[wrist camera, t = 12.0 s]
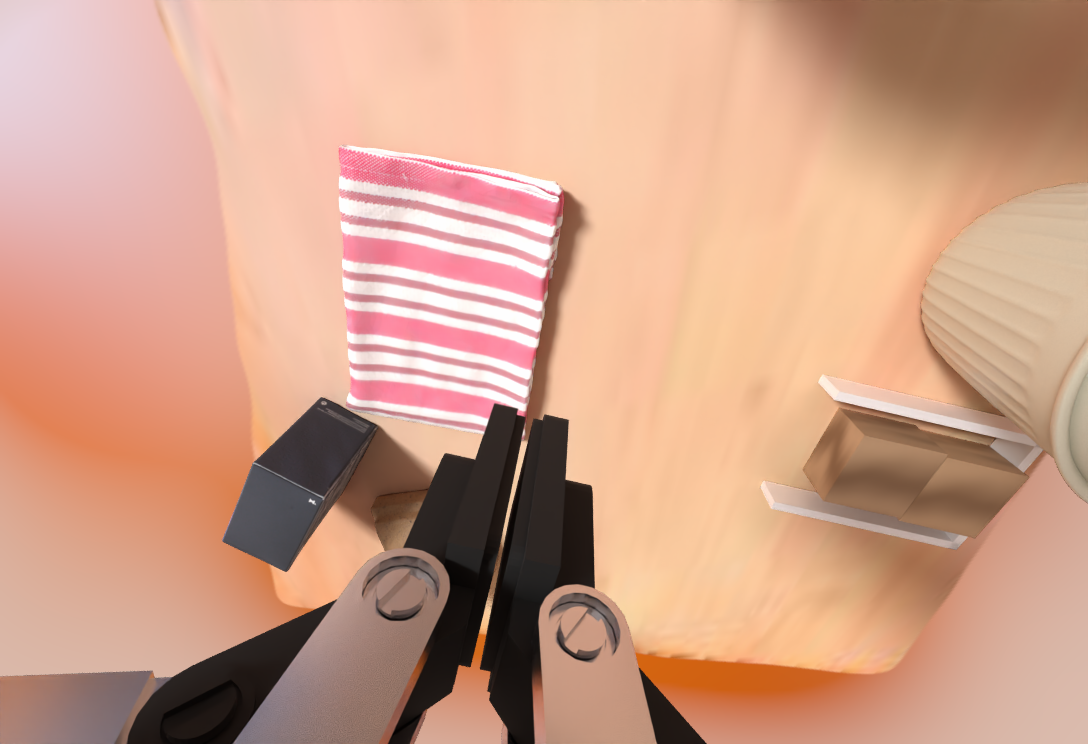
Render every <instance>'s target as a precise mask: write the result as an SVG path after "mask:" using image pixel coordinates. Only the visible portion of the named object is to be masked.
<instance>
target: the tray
mask: <svg viewBox="0 0 1088 744" xmlns="http://www.w3.org/2000/svg"><path fill="white" fill-rule="evenodd" d="M818 383H819V384H820V385H821V386H822V387H823V388H824V389H825V390H826V392H827V393H828V394H829V395H830V396H831V397H832V398H833V399H834V400H837V401H841V402H845V403H850V404H854V405H858V406H863V407H867V408H871V409H876V410H880V411H884V412H888V413H893V414H897V415H901V416H906V417H910V418H914V419H919V420H923V421H927V422H932V423H936V424H940V425H944V426H949V427H953V428H957V429H962V430H966V431H970V432H975V433H979V434H983V435H988V436H992V437H996V439H995V440H994V442H993V443H992V444H991V445H990V447H991V448H993V449H994V450H995V451H996V452H998V453H999V454H1000V455H1002V456H1003V457H1004V458H1006V459H1007V460H1008V461H1009V462H1011V463H1012V464H1013V465H1015V466H1016V467H1017V468H1018V469H1020V470H1021V471H1022V472H1025V471H1026V469H1027V468H1028V467H1029V466H1030V465H1031V464H1032V462H1033V461H1034V460H1035V459H1036V458H1037V457H1038V456H1039V454H1040V453H1041V452H1042V451H1043V449H1042V448H1041V447H1040V446H1039V445H1037V444H1036V443H1035V442H1034V441H1033V440H1032V439H1031V438H1030V437H1028V436H1027V435H1026V434H1025V433H1024V432H1023V431H1022V430H1021V429H1019V428H1018V427H1017V426H1016V425H1015V424H1014V423H1013V422H1012V421H1010V420H1009V419H1008V418H1007V417H1003V416H999V415H995V414H990V413H986V412H982V411H977V410H973V409H969V408H965V407H960V406H956V405H952V404H948V403H943V402H939V401H935V400H930V399H926V398H922V397H918V396H913V395H909V394H905V393H900V392H896V391H892V390H888V389H883V388H879V387H875V386H870V385H866V384H862V383H858V382H853V381H849V380H845V379H840V378H836V377H832V376H828V375H823V374H822V376H821V378H820V380H819V381H818ZM760 487H761V489H762V491H763V493H764V495H765V497H766V499H767V501H768V503H769V505H770V507H771V509H775V510H780V511H784V512H789V513H793V514H798V515H802V516H807V517H811V518H816V519H820V520H824V521H829V522H833V523H838V524H842V525H847V526H851V527H856V528H860V529H865V530H869V531H874V532H878V533H883V534H887V535H891V536H896V537H900V538H905V539H909V540H914V541H918V542H923V543H927V544H932V545H936V546H941V547H945V548H949V549H954V550H957V549H958V547H959V546H960V545H961V544H962V543H963V542H964V541H965V539H966V538H967V536H963V535H959V534H954V533H950V532H946V531H941V530H937V529H933V528H928V527H924V526H920V525H915V524H911V523H907V522H902V521H899V520H898V519H897V518H896V517H893V516H888V515H884V514H879V513H875V512H870V511H866V510H861V509H857V508H852V507H848V506H843V505H839V504H834V503H829V502H825V501H823V500H822V499H821V497H820V496H819V494H818V493H817V492H813V491H808V490H804V489H800V488H795V487H791V486H786V485H782V484H777V483H773V482H769V481H763V483H762V484H761V486H760Z"/></svg>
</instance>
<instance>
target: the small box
mask: <svg viewBox="0 0 1088 744" xmlns="http://www.w3.org/2000/svg"><path fill="white" fill-rule="evenodd" d="M377 429H378V427H377V426H376V425H374V424H373V423H370V422H368V421H366V420H364V419H362V418H360V417H358V416H357V415H355V414H353V413H351V412H349V411H347V410H346V409H344V408H342V407H340V406H339V405H337V404H335V403H333V402H331V401H329V400H327V399H325V398H322V397H321V398H320V399H319V400H318V401H317V402H316V403H315V404H314V405H313V406H312V407H311V408H310V409H309V410H308V411H307V412H305V413H304V414H303V415H302V416H301V417H300V418H299V419H298V420H297V421H296V422H295V423H294V424H293V425H292V426H291V427H290V428H289V429H288V430H287V431H286V432H285V433H284V434H283V435H282V436H281V437H280V438H279V439H278V440H277V441H276V442H275V443H274V444H272V445H271V446H270V447H269V448H268V449H267V450H266V451H265V452H264V453H263V454H262V455H261V456H260V457H259V458H258V459H257V460H256V461H255V462H253V464H252V467H251V469H250V472H249V474H248V477H247V480H246V482H245V485H244V487H243V490H242V493H241V495H240V498H239V500H238V503H237V505H236V508H235V510H234V512H233V515H232V518H231V520H230V522H229V525H228V527H227V530H226V532H225V534H224V537H223V540H222V541H223V542H224V543H226V544H228V545H230V546H233V547H234V548H237V549H239V550H241V551H243V552H245V553H248V554H250V555H252V556H254V557H256V558H258V559H260V560H263V561H265V562H266V563H268V564H271V565H273V566H275V567H277V568H279V569H281V570H283V571H285V572H287V571H288V570H289V569H290V567H291V565H292V564H293V562H294V561H295V559H296V557H297V556H298V554H299V553H300V551H301V550H302V548H303V547H304V545H305V544H306V542H307V541H308V539H309V538H310V537H311V535H312V534H313V532H314V531H315V530H316V528H317V527H318V525H319V524H320V523H321V521H322V520H323V518H324V517H325V516H326V514H327V513H328V511H329V510H330V509H331V507H332V506H333V505H334V503H335V502H336V501H337V499H338V498H339V497H340V496H341V494H342V493H343V491H344V489H345V487H346V486H347V484H348V482H349V480H350V478H351V476H352V475H353V474H354V471H355V469H356V468H357V466H358V464H359V462H360V460H361V458H362V457H363V455H364V453H365V451H366V450H367V448H368V446H369V444H370V442H371V440H372V438H373V436H374V434H375V432H376V431H377Z"/></svg>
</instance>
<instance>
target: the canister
mask: <svg viewBox="0 0 1088 744" xmlns="http://www.w3.org/2000/svg"><path fill="white" fill-rule="evenodd" d="M922 295H923V299H922V302H921V305H920V306H921V309H922V315H921V319H922V322H923V323H924V329H925V333H926V335H927V336H928V337H929V339H930V342H931V344H932V346H933V347H934V348H935V350H936V351H937V352H938V353H939V354H940V355H941V356H942V357H943V359H944V360H945V361H946V362H947V363H948V364H949V365H950V366H951V367H952V368H953V369H954V370H955V371H956V372H957V373H958V374H960V375H961V376H962V377H963V378H964V379H965V380H966V381H967V382H968V383H969V384H970V385H971V386H972V387H973V388H974V389H975V390H976V391H978V392H979V393H980V394H981V395H982V396H983V397H984V398H985V399H987V400H988V401H989V402H990V403H991V404H992V405H993V406H994V407H996V408H997V409H998V410H999V411H1000V412H1001V413H1002V414H1004V415H1005V416H1006V417H1007V418H1008V419H1009V420H1010V421H1012V422H1013V423H1014V424H1015V425H1016V426H1017V427H1018V428H1019V429H1021V430H1022V431H1023V432H1024V433H1025V434H1026V435H1027V436H1028V437H1030V438H1031V439H1032V440H1033V441H1034V442H1035V443H1036V444H1037V445H1039V446H1040V447H1041V448H1042V449H1043V450H1044V451H1046V452H1047V453H1048V454H1049V455H1050V456H1052V457H1053V458H1054V460H1055V463H1056V465H1057V468H1058V470H1059V472H1060V474H1061V476H1062V477H1063V479H1064V481H1065V482H1066V483H1067V485H1068V486H1069V487H1070V488H1071V490H1072V491H1073V492H1074V493H1075V494H1076V495H1077V496H1079V497H1080V498H1081V499H1082V500H1084V501H1085V502H1086V503H1088V182H1085V183H1071V184H1064V185H1059V186H1055V187H1051V188H1043V189H1039V190H1035V191H1033V192H1030V193H1028V194H1026V195H1021V196H1017V197H1015V198H1012V199H1011V200H1009V201H1007V202H1006V203H1004V204H1000V205H997V206H995V207H993V208H992V209H991V210H990V211H989V212H987V213H986V214H983V215H981V216H979V217H977V218H976V219H975V221H974V222H972V223H971V224H970V225H968V226H966V227H964V228H963V229H962V231H961V232H960V233H959V234H958V235H957V236H956V237H955V238H954V239H952V240H951V241H950V243H949V245H948V246H947V247H946V248H945V249H944V250H943V251H942V252H941V253H940V256H939V258H938V260H937V261H936V262H935V264H933V265H932V269H931V272H930V274H929V276H928V277H927V278H926V285H925V288H924V289H923V291H922Z"/></svg>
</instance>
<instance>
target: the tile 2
mask: <svg viewBox="0 0 1088 744" xmlns="http://www.w3.org/2000/svg"><path fill="white" fill-rule="evenodd" d="M921 431H922V432H924V433H925V434H926V435H927V436H928V437H929V438H930V439H931V440H933V441H934V442H935V443H936V444H937V445H938V446H939V447H941V448H942V449H943V450H944V451H945V452H946V453H947V454H948V456H947V457H946V458H945V460H944V461H943V462H942V464H941V465H940V466H939V468H938V469H937V470H936V472H935V473H934V474H933V476H932V477H931V478H930V480H929V481H928V482H927V484H926V485H925V486H924V488H923V489H922V490H921V492H920V493H919V494H918V496H917V497H916V498H915V500H914V501H913V502H912V504H911V505H910V506H909V508H908V509H907V510H906V512H905V513H904V514H903V516H902V517H901V518H897V517H896V518H897V519H898V520H899V521H902V522H907V523H911V524H915V525H920V526H924V527H928V528H933V529H937V530H941V531H946V532H950V533H954V534H959V535H963V536H967V537H972V538H976V537H977V535H978V534H979V533H980V532H981V531H982V530H983V529H984V528H985V526H986V525H987V524H988V523H989V522H990V521H991V520H992V519H993V517H994V516H995V515H996V514H997V513H998V512H999V511H1000V510H1001V508H1002V507H1003V506H1004V505H1005V504H1006V503H1007V502H1008V501H1009V499H1010V498H1011V497H1012V496H1013V495H1014V494H1015V493H1016V492H1017V490H1018V489H1019V488H1020V487H1021V486H1022V485H1023V484H1024V483H1025V481H1026V480H1027V479H1028V478H1029V476H1028V475H1026V474H1025V473H1024V472H1022V471H1021V470H1020V469H1018V468H1017V467H1016V466H1015V465H1013V464H1012V463H1011V462H1009V461H1008V460H1007V459H1006V458H1004V457H1003V456H1002V455H1000V454H999V453H998V452H996V451H995V450H994V449H993V448H991V447H990V446H988V445H984V444H979V443H975V442H971V441H967V440H962V439H958V438H954V437H950V436H946V435H941V434H937V433H933V432H929V431H925V430H921Z"/></svg>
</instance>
